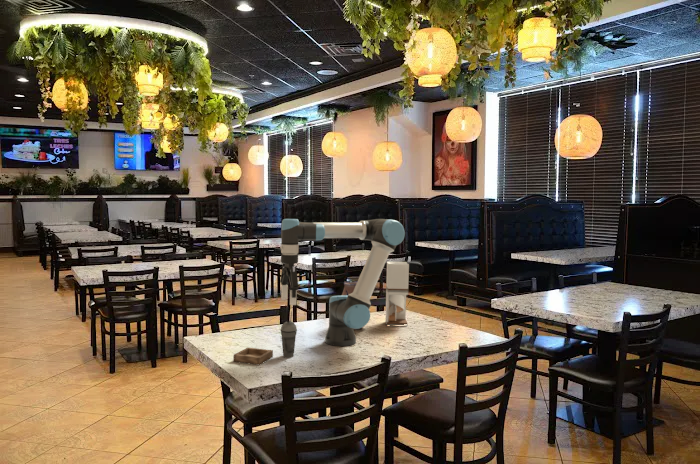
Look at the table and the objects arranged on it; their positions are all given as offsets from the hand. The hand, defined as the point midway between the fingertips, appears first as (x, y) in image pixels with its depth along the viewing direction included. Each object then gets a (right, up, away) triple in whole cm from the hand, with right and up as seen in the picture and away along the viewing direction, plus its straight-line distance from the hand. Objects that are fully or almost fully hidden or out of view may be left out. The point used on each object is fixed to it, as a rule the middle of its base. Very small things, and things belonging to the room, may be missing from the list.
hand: (288, 302), depth 239 cm
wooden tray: (-15, -24, -4) cm, 29 cm away
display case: (+53, -22, +68) cm, 89 cm away
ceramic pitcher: (+30, -22, +57) cm, 68 cm away
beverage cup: (0, -24, +2) cm, 24 cm away
